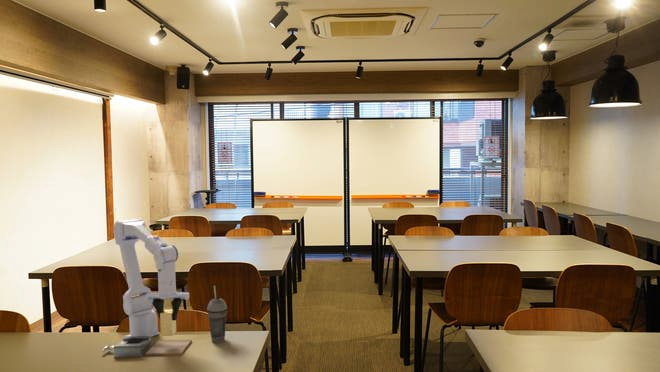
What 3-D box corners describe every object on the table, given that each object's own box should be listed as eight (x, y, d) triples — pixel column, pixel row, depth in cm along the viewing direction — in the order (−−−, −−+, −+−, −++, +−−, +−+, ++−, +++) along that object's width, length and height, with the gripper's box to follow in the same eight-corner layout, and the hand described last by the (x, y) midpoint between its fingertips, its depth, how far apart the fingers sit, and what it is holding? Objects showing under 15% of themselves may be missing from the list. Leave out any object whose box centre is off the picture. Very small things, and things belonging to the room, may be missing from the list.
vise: (110, 347, 167) (110, 336, 167) (151, 346, 167) (150, 335, 167) (98, 357, 158) (97, 346, 158) (141, 356, 158) (140, 345, 158)
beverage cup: (216, 346, 166) (214, 290, 165) (203, 341, 171) (201, 287, 170) (232, 339, 172) (231, 285, 171) (219, 335, 176) (217, 282, 175)
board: (158, 342, 171) (158, 340, 171) (191, 341, 171) (191, 339, 171) (145, 356, 159) (145, 353, 159) (181, 355, 159) (181, 353, 159)
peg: (165, 331, 166) (164, 309, 166) (176, 331, 166) (175, 309, 166) (160, 336, 162) (160, 313, 162) (172, 335, 162) (171, 313, 162)
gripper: (141, 284, 159) (143, 324, 160) (184, 283, 159) (185, 323, 160) (149, 279, 167) (150, 317, 167) (190, 278, 166) (191, 316, 167)
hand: (168, 319), depth 164 cm, fingers closed on peg, 4 cm apart
